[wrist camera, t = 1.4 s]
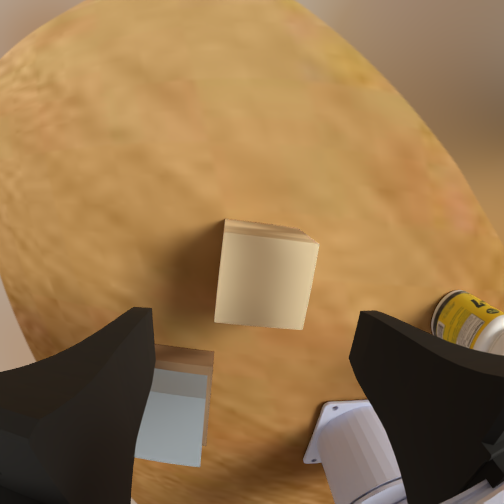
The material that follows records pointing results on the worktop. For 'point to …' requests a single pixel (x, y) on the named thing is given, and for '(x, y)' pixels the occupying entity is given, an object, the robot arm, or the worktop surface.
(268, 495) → the worktop surface
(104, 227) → the worktop surface
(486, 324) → the supplement bottle
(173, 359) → the walnut slab
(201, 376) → the slate slab
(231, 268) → the oak block
